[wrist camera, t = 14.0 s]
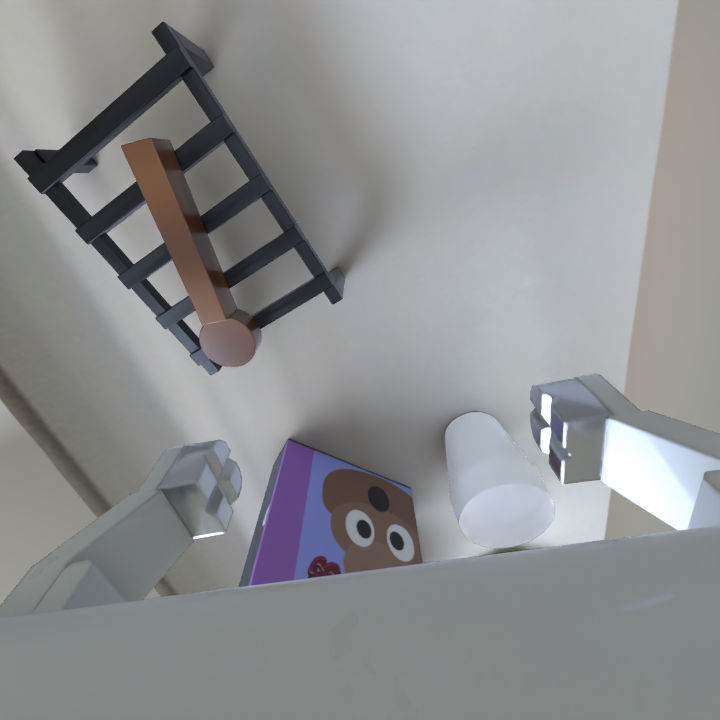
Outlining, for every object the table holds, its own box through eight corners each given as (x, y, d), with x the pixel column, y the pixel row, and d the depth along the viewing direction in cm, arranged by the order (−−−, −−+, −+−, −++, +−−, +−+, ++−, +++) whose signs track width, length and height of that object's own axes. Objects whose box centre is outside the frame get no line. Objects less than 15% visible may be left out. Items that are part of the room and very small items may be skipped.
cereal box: (410, 487, 49) (449, 735, 28) (392, 509, 51) (415, 757, 30) (288, 438, 45) (225, 683, 24) (273, 464, 47) (203, 711, 26)
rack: (77, 159, 31) (7, 158, 25) (203, 49, 28) (159, 18, 22) (232, 344, 39) (209, 378, 33) (345, 277, 36) (342, 300, 30)
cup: (430, 409, 43) (453, 490, 32) (509, 396, 42) (559, 475, 32) (438, 466, 47) (460, 554, 37) (510, 456, 46) (555, 542, 36)
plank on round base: (126, 151, 25) (102, 150, 22) (187, 134, 24) (169, 132, 22) (220, 360, 32) (209, 375, 30) (268, 350, 32) (261, 365, 29)
